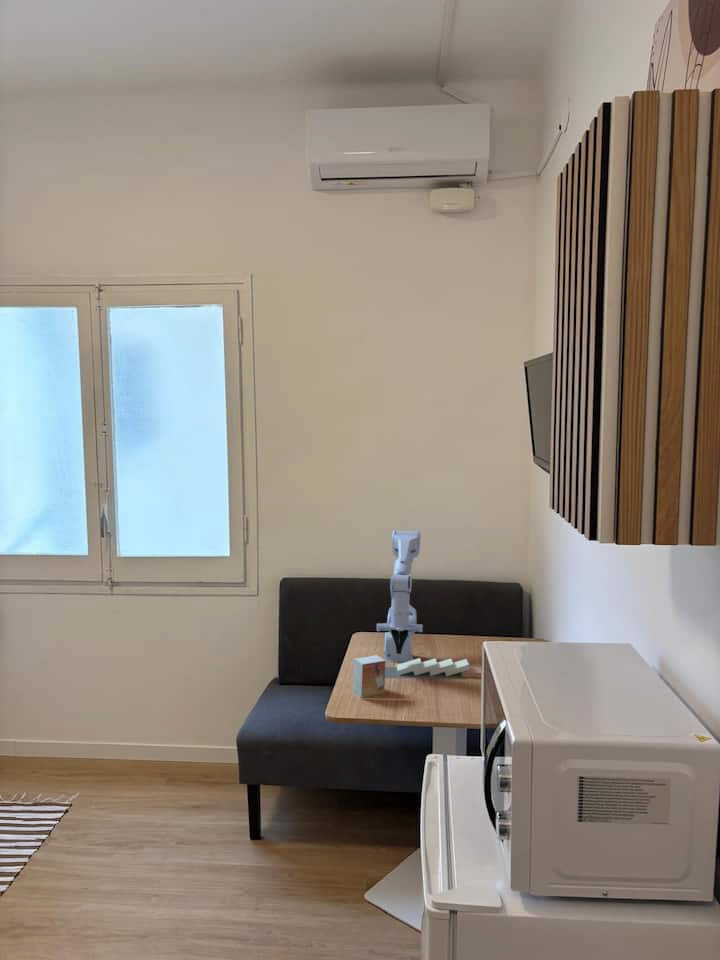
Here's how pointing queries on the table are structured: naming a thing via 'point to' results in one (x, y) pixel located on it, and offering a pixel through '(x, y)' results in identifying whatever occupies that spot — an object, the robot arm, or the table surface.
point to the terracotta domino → (472, 672)
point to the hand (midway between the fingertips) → (398, 652)
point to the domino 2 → (427, 667)
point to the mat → (393, 673)
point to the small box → (369, 676)
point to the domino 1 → (409, 666)
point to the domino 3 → (443, 667)
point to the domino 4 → (459, 667)
